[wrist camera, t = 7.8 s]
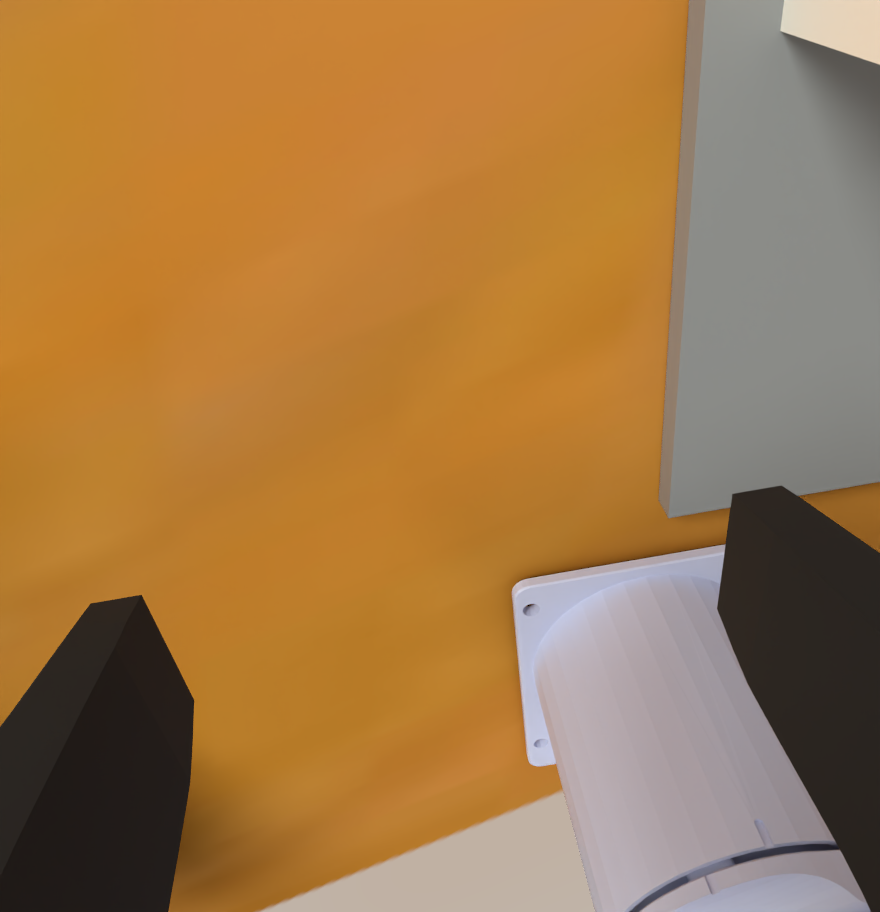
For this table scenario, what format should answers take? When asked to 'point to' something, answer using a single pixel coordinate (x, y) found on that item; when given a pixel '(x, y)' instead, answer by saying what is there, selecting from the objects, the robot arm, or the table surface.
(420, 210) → the table surface
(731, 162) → the plate
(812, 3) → the cream base brick
